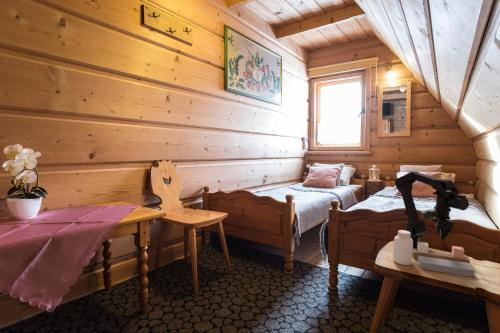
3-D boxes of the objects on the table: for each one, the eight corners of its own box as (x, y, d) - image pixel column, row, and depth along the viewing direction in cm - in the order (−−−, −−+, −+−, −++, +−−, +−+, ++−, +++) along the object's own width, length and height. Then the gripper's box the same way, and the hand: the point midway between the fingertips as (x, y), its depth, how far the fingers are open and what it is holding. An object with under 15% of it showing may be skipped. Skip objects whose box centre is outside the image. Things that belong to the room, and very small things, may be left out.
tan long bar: (411, 254, 146) (412, 247, 146) (465, 262, 137) (466, 255, 137) (413, 258, 141) (413, 251, 141) (469, 266, 132) (469, 259, 132)
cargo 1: (417, 249, 144) (417, 241, 144) (426, 250, 142) (426, 242, 142) (418, 251, 140) (419, 244, 140) (427, 253, 139) (428, 245, 138)
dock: (417, 261, 136) (418, 255, 136) (468, 269, 129) (468, 263, 128) (420, 268, 129) (420, 262, 129) (474, 277, 121) (474, 270, 121)
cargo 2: (451, 253, 138) (452, 245, 138) (461, 255, 137) (461, 247, 136) (453, 256, 135) (454, 248, 134) (463, 258, 133) (464, 250, 133)
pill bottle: (414, 266, 131) (416, 235, 130) (395, 264, 133) (397, 233, 131) (408, 259, 139) (410, 229, 138) (390, 257, 141) (392, 228, 139)
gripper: (420, 199, 148) (418, 228, 149) (426, 207, 131) (424, 240, 132) (446, 202, 143) (443, 231, 145) (455, 210, 126) (452, 244, 128)
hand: (440, 236), depth 138 cm, fingers open, 9 cm apart
